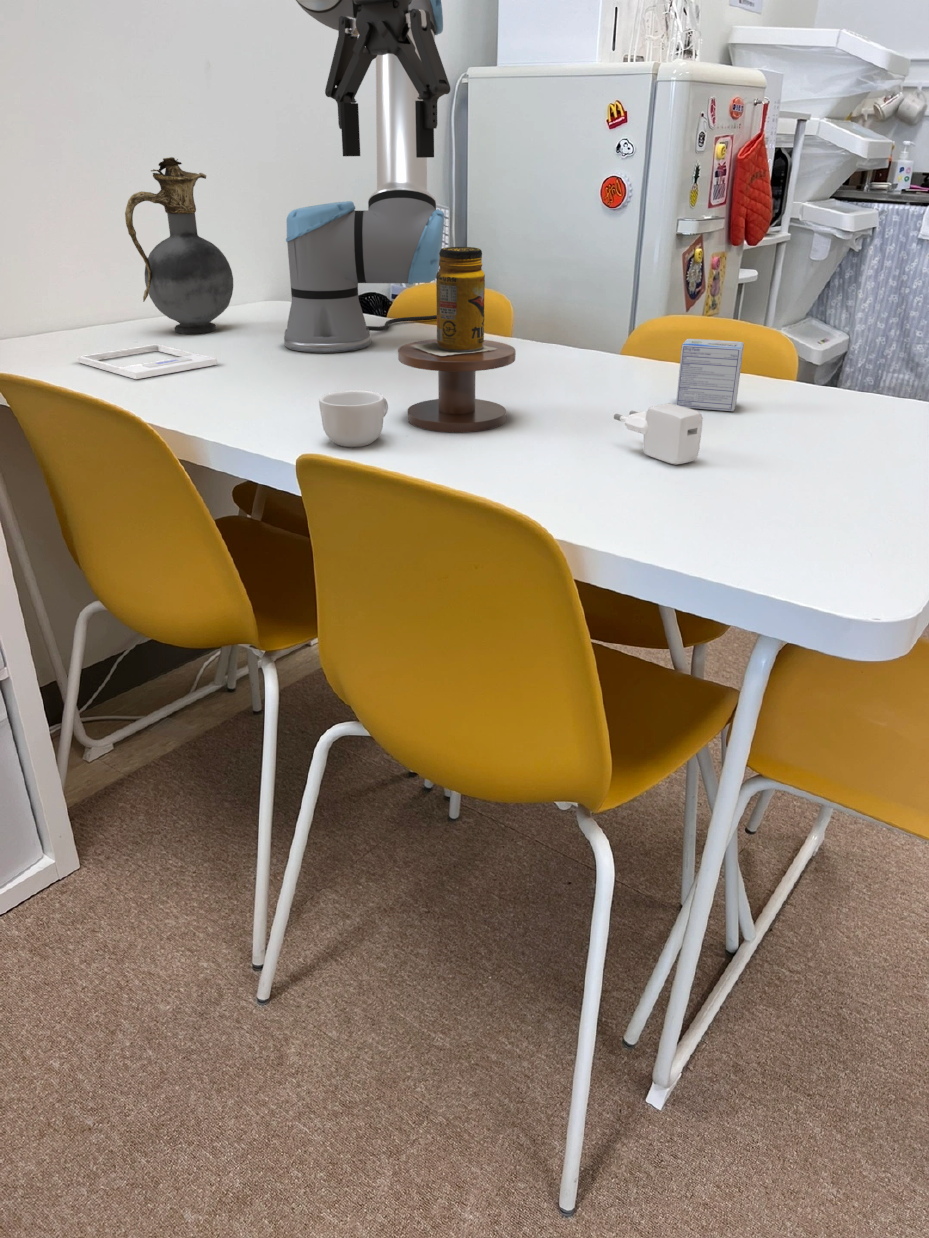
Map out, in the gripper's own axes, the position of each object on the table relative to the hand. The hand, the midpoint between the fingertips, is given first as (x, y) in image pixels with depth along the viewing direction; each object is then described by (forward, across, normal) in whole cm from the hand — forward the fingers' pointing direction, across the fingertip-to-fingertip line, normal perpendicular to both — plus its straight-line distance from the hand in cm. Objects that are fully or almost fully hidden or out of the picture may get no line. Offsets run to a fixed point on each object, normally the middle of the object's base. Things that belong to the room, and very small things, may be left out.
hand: (387, 157), depth 127 cm
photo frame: (+31, -41, -15) cm, 53 cm away
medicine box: (+31, +42, +18) cm, 55 cm away
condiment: (+22, +19, -9) cm, 30 cm away
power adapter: (+31, +47, -6) cm, 57 cm away
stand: (+31, +20, -9) cm, 37 cm away
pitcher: (+31, -60, +7) cm, 68 cm away
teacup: (+31, +17, -24) cm, 43 cm away
